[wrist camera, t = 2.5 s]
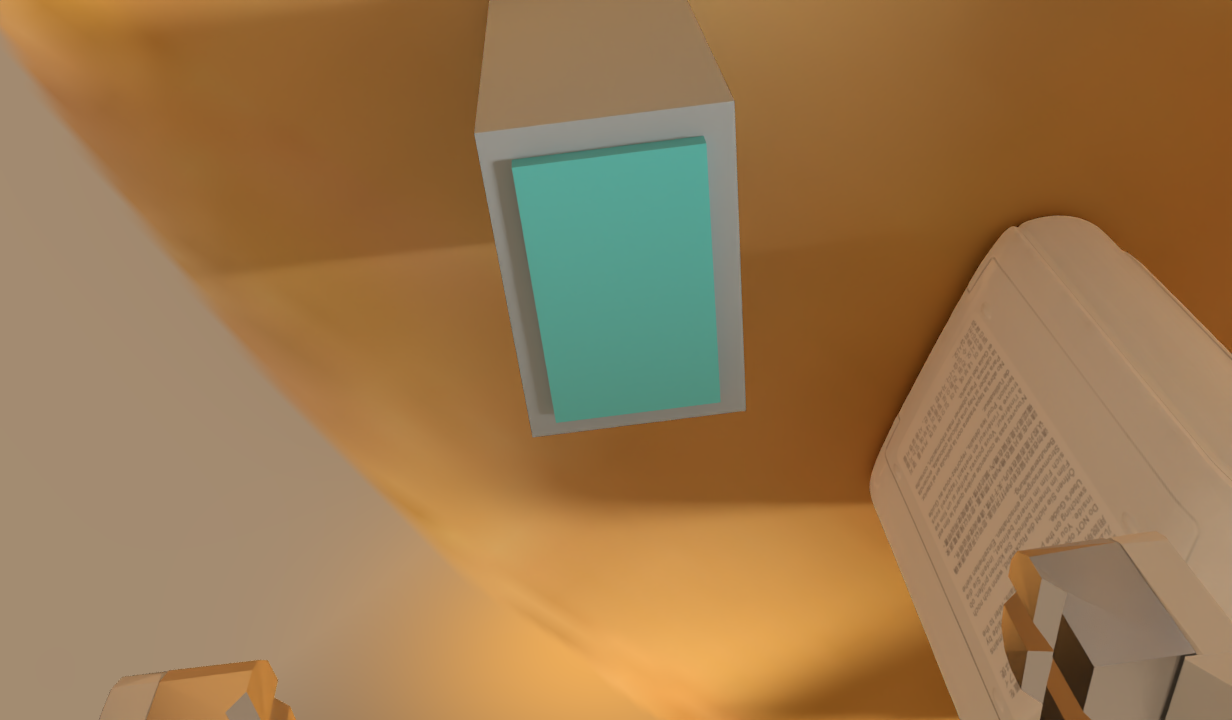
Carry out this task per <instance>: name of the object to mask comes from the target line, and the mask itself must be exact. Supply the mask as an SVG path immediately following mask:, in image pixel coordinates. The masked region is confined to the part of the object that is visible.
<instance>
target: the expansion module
mask: <svg viewBox="0 0 1232 720" xmlns="http://www.w3.org/2000/svg"><path fill="white" fill-rule="evenodd" d="M474 136H475V141H476V146H477V151H478V156H479V161H480V167H481V172H482V177H483V182H484V187H485V193H486V198H487V203H488V208H489V213H490V219H491V224H492V229H493V234H494V239H495V245H496V250H497V255H498V260H499V265H500V271H501V276H502V281H503V286H504V291H505V297H506V302H507V307H508V312H509V317H510V323H511V328H512V333H513V338H514V343H515V349H516V354H517V359H518V364H519V369H520V374H521V380H522V385H523V390H524V395H525V400H526V406H527V411H528V416H529V421H530V426H531V432H532V437H540V436H548V435H556V434H564V433H572V432H580V431H588V430H596V429H604V428H612V427H620V426H628V425H636V424H644V423H652V422H660V421H668V420H676V419H684V418H692V417H700V416H708V415H716V414H724V413H732V412H740V411H746V397H745V370H744V343H743V317H742V290H741V263H740V236H739V209H738V182H737V155H736V128H735V102H734V99H733V97H732V94H731V92H730V90H729V88H728V86H727V84H726V82H725V80H724V77H723V75H722V73H721V71H720V69H719V67H718V65H717V62H716V60H715V58H714V56H713V54H712V52H711V50H710V47H709V45H708V43H707V41H706V39H705V37H704V35H703V33H702V30H701V28H700V26H699V24H698V22H697V20H696V18H695V15H694V13H693V11H692V9H691V7H690V5H689V3H688V0H489V7H488V16H487V25H486V34H485V42H484V51H483V60H482V69H481V77H480V86H479V95H478V104H477V112H476V121H475V130H474Z"/></svg>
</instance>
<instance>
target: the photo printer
mask: <svg viewBox="0 0 1232 720" xmlns="http://www.w3.org/2000/svg"><path fill="white" fill-rule="evenodd" d="M870 494H871V499H872V502H873V505H874V508H875V510H876V512H877V515H878V517H879V519H880V522H881V525H882V527H883V529H884V532H885V534H886V537H887V540H888V542H889V544H890V546H891V549H892V551H893V554H894V556H895V559H896V561H897V564H898V566H899V569H900V571H901V574H902V576H903V579H904V581H905V583H906V586H907V588H908V591H909V593H910V596H911V599H912V601H913V604H914V606H915V609H916V611H917V614H918V616H919V619H920V621H921V623H922V626H923V628H924V631H925V633H926V636H927V638H928V641H929V643H930V646H931V648H932V651H933V653H934V656H935V659H936V661H937V664H938V666H939V668H940V671H941V673H942V676H943V679H944V681H945V684H946V686H947V689H948V691H949V694H950V696H951V698H952V701H953V703H954V706H955V708H956V711H957V714H958V716H959V719H960V720H1040V716H1041V711H1042V706H1043V704H1042V703H1040V702H1039V701H1037V700H1036V699H1034V698H1033V697H1031V696H1030V695H1028V694H1027V693H1025V692H1024V691H1022V690H1021V689H1020V687H1019V685H1018V682H1017V680H1016V678H1015V676H1014V674H1013V672H1012V670H1011V667H1010V664H1009V662H1008V659H1007V656H1006V653H1005V649H1004V642H1003V635H1002V628H1001V624H1002V615H1003V605H1004V604H1005V603H1006V602H1007V601H1008V600H1009V599H1010V598H1011V597H1012V596H1013V595H1014V594H1015V593H1016V590H1015V588H1014V586H1013V584H1012V582H1011V581H1010V579H1009V577H1008V574H1009V569H1010V563H1011V559H1012V558H1013V556H1014V555H1015V553H1016V552H1017V551H1021V550H1028V549H1034V548H1041V547H1047V546H1054V545H1060V544H1067V543H1073V542H1079V541H1086V540H1092V539H1099V538H1105V539H1107V538H1110V537H1116V536H1123V535H1130V534H1137V533H1144V532H1151V531H1157V532H1159V533H1160V534H1162V535H1164V536H1165V537H1166V538H1167V539H1168V540H1169V542H1170V543H1171V544H1172V545H1173V547H1174V548H1175V549H1176V551H1177V552H1178V553H1179V554H1180V556H1181V557H1182V558H1183V560H1184V561H1185V562H1186V563H1187V565H1188V566H1189V567H1190V569H1191V570H1192V571H1193V573H1194V574H1195V575H1196V576H1197V578H1198V579H1199V580H1200V582H1201V583H1202V584H1203V585H1204V587H1205V588H1206V589H1207V591H1208V592H1209V593H1210V594H1211V596H1212V597H1213V598H1214V600H1215V601H1216V602H1217V603H1218V605H1219V606H1220V607H1221V609H1222V610H1223V611H1224V612H1225V614H1226V615H1227V616H1228V618H1229V619H1230V620H1231V621H1232V354H1231V353H1230V352H1229V351H1228V350H1227V349H1226V347H1225V346H1224V345H1223V344H1222V343H1220V342H1219V341H1218V340H1217V339H1216V337H1215V336H1214V335H1213V334H1212V333H1211V332H1210V331H1209V330H1208V329H1207V328H1206V327H1205V326H1204V325H1203V324H1202V323H1201V322H1200V321H1199V320H1198V319H1197V318H1196V317H1195V316H1194V315H1193V314H1192V313H1191V312H1190V311H1189V310H1188V309H1187V308H1186V307H1185V306H1184V305H1183V304H1182V303H1181V302H1180V301H1179V300H1178V299H1177V298H1176V297H1175V296H1174V295H1173V294H1172V293H1171V292H1170V291H1169V290H1168V289H1167V288H1166V287H1165V286H1164V285H1163V284H1162V283H1161V282H1160V281H1159V280H1158V279H1157V278H1156V277H1155V276H1154V275H1153V274H1152V273H1151V272H1150V271H1149V270H1148V269H1147V268H1146V267H1145V266H1144V265H1143V264H1142V263H1141V262H1139V261H1138V260H1137V259H1136V258H1134V257H1133V256H1132V255H1130V254H1129V253H1128V252H1126V251H1122V250H1121V249H1120V248H1119V247H1118V246H1117V245H1116V244H1115V243H1114V242H1113V241H1112V239H1111V238H1110V237H1109V236H1108V235H1107V234H1106V233H1105V232H1103V231H1102V230H1101V229H1100V228H1099V227H1097V226H1096V225H1094V224H1092V223H1090V222H1089V221H1086V220H1084V219H1081V218H1077V217H1072V216H1060V215H1055V216H1046V217H1040V218H1036V219H1033V220H1029V221H1026V222H1024V223H1022V224H1021V225H1019V227H1015V226H1012V227H1009V228H1008V229H1007V230H1006V231H1005V232H1004V233H1003V234H1002V235H1001V236H1000V237H999V238H998V240H997V241H996V243H995V244H994V245H993V247H992V248H991V249H990V251H989V252H988V254H987V255H986V256H985V258H984V259H983V261H982V262H981V264H980V265H979V267H978V269H977V270H976V272H975V274H974V275H973V277H972V279H971V280H970V282H969V284H968V286H967V288H966V290H965V291H964V293H963V295H962V297H961V299H960V300H959V302H958V304H957V305H956V307H955V309H954V311H953V312H952V314H951V316H950V318H949V320H948V322H947V324H946V326H945V327H944V329H943V331H942V333H941V334H940V336H939V338H938V340H937V342H936V344H935V345H934V347H933V349H932V351H931V353H930V355H929V357H928V359H927V360H926V362H925V364H924V366H923V368H922V370H921V372H920V374H919V375H918V377H917V379H916V381H915V383H914V385H913V387H912V389H911V391H910V393H909V395H908V396H907V398H906V400H905V402H904V404H903V406H902V408H901V410H900V412H899V414H898V415H897V417H896V418H895V420H894V423H893V425H892V427H891V429H890V431H889V433H888V435H887V437H886V440H885V442H884V444H883V446H882V448H881V450H880V452H879V455H878V457H877V460H876V462H875V465H874V468H873V471H872V474H871V479H870Z"/></svg>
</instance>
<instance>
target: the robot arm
mask: <svg viewBox="0 0 1232 720" xmlns="http://www.w3.org/2000/svg"><path fill="white" fill-rule="evenodd" d="M1008 577H1009V579H1010V581H1011V582H1012V584H1013V586H1014V588H1015V590H1016V593H1015V594H1014V595H1013V596H1012V597H1011V598H1010V599H1009V600H1008V601H1007V602H1006V603H1005V604H1004V605H1003V615H1002V624H1001V628H1002V635H1003V642H1004V649H1005V653H1006V656H1007V659H1008V662H1009V664H1010V667H1011V670H1012V672H1013V674H1014V676H1015V678H1016V680H1017V682H1018V685H1019V687H1020V689H1021V690H1022V691H1024V692H1025V693H1027V694H1028V695H1030V696H1031V697H1033V698H1034V699H1036V700H1037V701H1039V702H1040V703H1042V704H1043V706H1042V711H1041V716H1040V720H1232V621H1231V620H1230V619H1229V618H1228V616H1227V615H1226V614H1225V612H1224V611H1223V610H1222V609H1221V607H1220V606H1219V605H1218V603H1217V602H1216V601H1215V600H1214V598H1213V597H1212V596H1211V594H1210V593H1209V592H1208V591H1207V589H1206V588H1205V587H1204V585H1203V584H1202V583H1201V582H1200V580H1199V579H1198V578H1197V576H1196V575H1195V574H1194V573H1193V571H1192V570H1191V569H1190V567H1189V566H1188V565H1187V563H1186V562H1185V561H1184V560H1183V558H1182V557H1181V556H1180V554H1179V553H1178V552H1177V551H1176V549H1175V548H1174V547H1173V545H1172V544H1171V543H1170V542H1169V540H1168V539H1167V538H1166V537H1165V536H1164V535H1162V534H1160V533H1159V532H1157V531H1151V532H1144V533H1137V534H1130V535H1123V536H1116V537H1110V538H1107V539H1105V538H1099V539H1092V540H1086V541H1079V542H1073V543H1067V544H1060V545H1054V546H1047V547H1041V548H1034V549H1028V550H1021V551H1017V552H1016V553H1015V555H1014V556H1013V558H1012V559H1011V563H1010V569H1009V574H1008ZM277 682H278V679H277V677H276V675H275V673H274V672H273V670H272V668H271V666H270V664H269V662H268V661H267V660H256V661H247V662H239V663H229V664H221V665H212V666H204V667H195V668H187V669H178V670H169V671H165V672H157V673H149V674H142V675H133V676H125V677H122V678H121V679H120V680H119V681H118V683H116V684H115V686H114V687H113V688H112V689H111V690H110V692H109V695H108V697H107V700H106V703H105V705H104V707H103V710H102V713H101V715H100V718H99V720H296V719H295V717H294V714H293V712H292V710H291V707H290V706H289V705H287V704H285V703H283V702H281V701H280V700H278V699H276V698H274V695H275V691H276V687H277Z"/></svg>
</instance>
